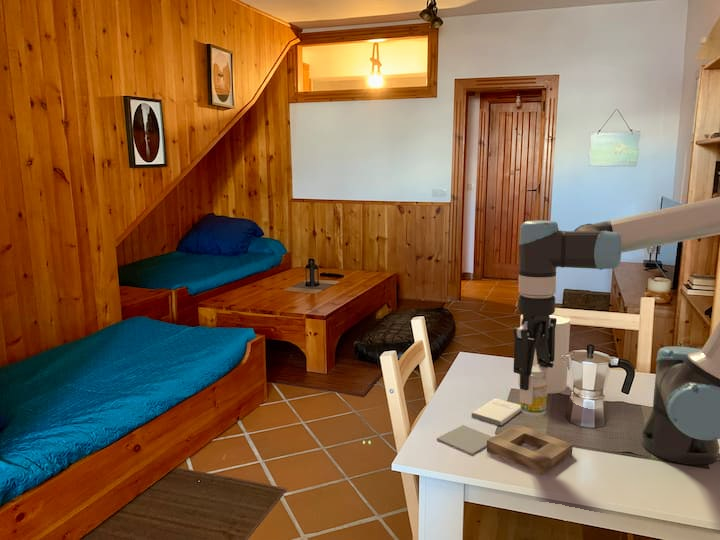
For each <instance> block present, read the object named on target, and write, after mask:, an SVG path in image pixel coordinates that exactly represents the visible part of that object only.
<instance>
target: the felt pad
mask: <svg viewBox="0 0 720 540" xmlns="http://www.w3.org/2000/svg"><path fill="white" fill-rule="evenodd" d="M492 437H493V435H492V436H491V435H489V434H487V433H485V432H481V431H480V430H476V429H474V428H471V427H469V426H467V425H464V424H462V425H460V426H458V427H455V428H454V429H452V430H451V431H448V432H447V433H444V434H442V435H440V436H438V437H437V438H436V440H437V441H438V442H441V443H443V444H445V445H448V446H450V447H452V448H454V449H457V450H459V451H461V452H464V453H466V454H469V456H470V455H471V456H473V455H476V454H477V453H478V452H481V451H482V450H484V449H485V448H486V449H487V440H488V439H490V438H492Z"/></svg>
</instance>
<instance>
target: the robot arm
mask: <svg viewBox="0 0 720 540" xmlns="http://www.w3.org/2000/svg"><path fill="white" fill-rule="evenodd" d="M718 235H720V196H717V197H713V198H709V199H708V198H707V199H704V200H699V201H694V202H690V203H685V204H680V205H676V206H672V207H666V208H660V209H657V210H652V211H647V212H644V213H643V212H642V213H638V214H633V215H630V216H625V217H624V216H623V217H621V218H615V219H611V220H608V221H601V222H596V223H584V224H581V225H579V226H577V227H576V228H575V229H574V230H571V231H569V230H560V229H559V225H558V222H557V221H554V220H538V219H537V220H527V221H524V222H523V223H522V224H521V225H520V230H519V242H518V278H517V279H518V280H517V281H518V291H517V292H518V293H519V295H517V312H519V313H520V314H521V315H523V320H522V326H521V327H520V326H519V327H514V328H513V335H514V336H513V337H514V344H513V345H514V347H513V351H514V352H513V373H515V374H517V375H518V374H520V385H519V403H521V402H522V403H525V404H529V405H532V404H533V376H534V375H532V374H531V371H532V366H533V360H534V354H535V348H536V355H537V363H538V364H539V365H536V367H540V368H543V369H544V376H543V378H545V379H546V381H547V388H548V367H551V368H552V367H553V363H550V362H554V357H555V326H556V321H557V319H556V318H551V317H549V315H552V314H553V313H555V311H556V297H555V294H556V292H557V291H556V290H557V286H556V285H557V268H564V269H565V268H573V269H575V268H576V269H592V270H593V269H594V270H595V269H596V270H597V269H598V270H599V271H600V270H609V269H610V270H614V269H617V268H619V267H620V264H621V261H622V260H621V258H622V254H623V253H627V252H632V251H638V250H644V249H648V248H654V247H659V246H664V245H670V244H675V243H681V242H686V241H687V242H688V241H690V240H697V239H702V238H707V237H713V236H718ZM528 338H532V339H528ZM533 339H534V340H533ZM549 355H550V356H549ZM655 362H656V368H655V369H656V370H655V379H654V390H653V400H652V401H653V403H652V411H651V413H650V415H649V416H648V419H647V421H646V423H645V425H644V427H643V429H642V431H641V440H640V441H641V445H642V446H643V447H644V448H645V449H646V450H647V451H648V452H650V453H651V454H653V455H655V456H657V457H660V458H661V459H665V460H667V461H672V462H674V463H679V464H685V465H691V466H692V465H693V466H694V465H697V466H699V465H700V466H702V465H709V464H713V463H715V462H716V461H718V459H719V458H720V457H719V456H720V443H719V441H718V440H720V321H718V323H717V324H716V326H715V328H714V329H713V331H712V333H711V334H710V336H709V337H708V339H707V341H705V344H704V345H703V347H702V348H697V347H696V348H695V347H690V346H689V347H687V346H663V347H660V349H658V351H657V356H656V358H655Z"/></svg>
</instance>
